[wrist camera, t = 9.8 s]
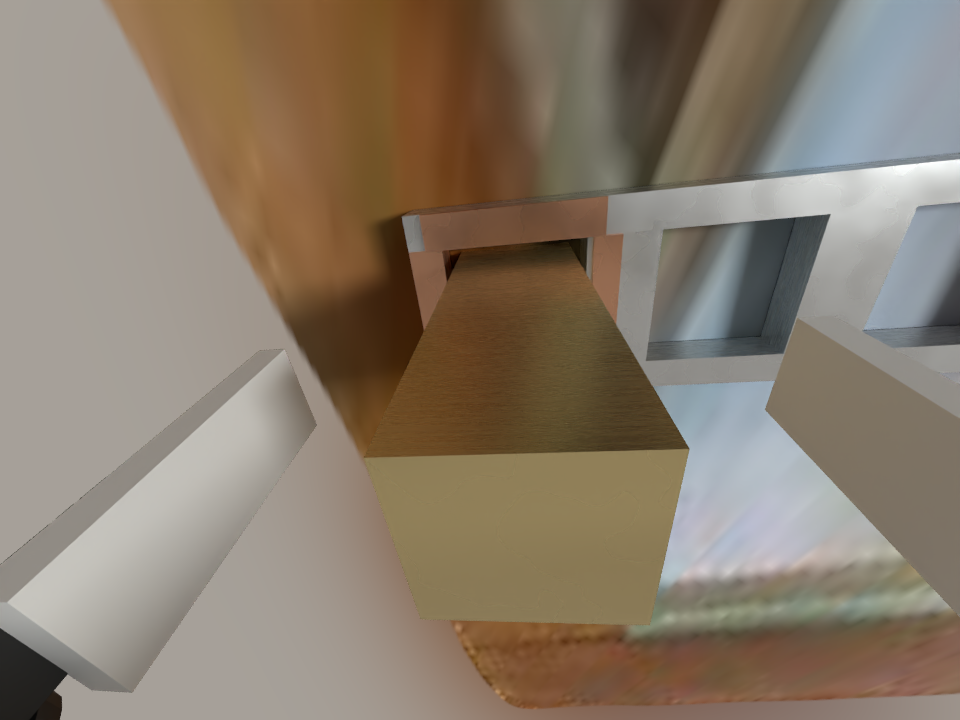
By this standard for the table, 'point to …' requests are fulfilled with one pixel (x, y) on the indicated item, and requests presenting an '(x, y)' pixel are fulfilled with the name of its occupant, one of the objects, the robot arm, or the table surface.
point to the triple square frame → (649, 209)
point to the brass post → (527, 452)
